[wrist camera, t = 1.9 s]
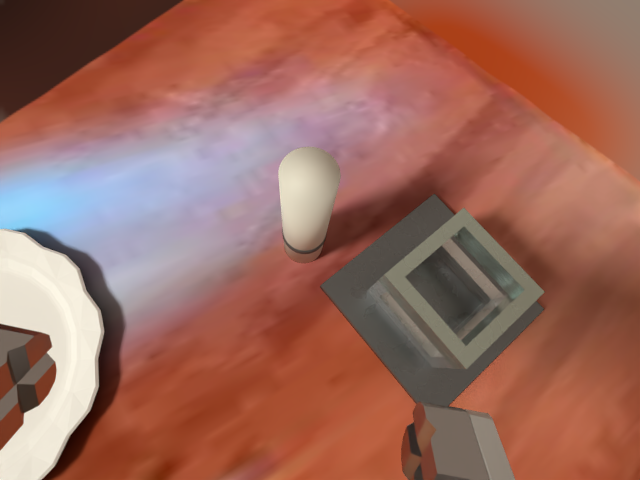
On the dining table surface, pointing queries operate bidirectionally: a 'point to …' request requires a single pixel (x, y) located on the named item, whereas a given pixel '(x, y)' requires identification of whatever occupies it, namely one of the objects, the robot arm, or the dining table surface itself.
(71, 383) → the plate
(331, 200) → the cream tall rounded cylinder
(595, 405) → the dining table surface
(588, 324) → the dining table surface
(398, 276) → the collar holder
